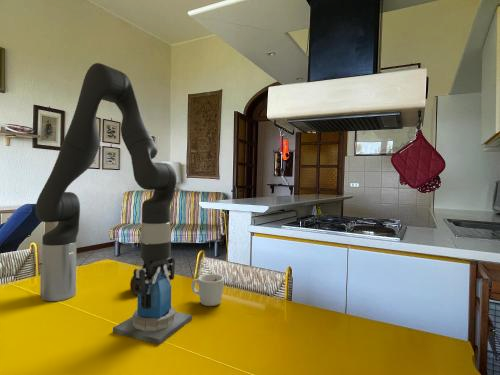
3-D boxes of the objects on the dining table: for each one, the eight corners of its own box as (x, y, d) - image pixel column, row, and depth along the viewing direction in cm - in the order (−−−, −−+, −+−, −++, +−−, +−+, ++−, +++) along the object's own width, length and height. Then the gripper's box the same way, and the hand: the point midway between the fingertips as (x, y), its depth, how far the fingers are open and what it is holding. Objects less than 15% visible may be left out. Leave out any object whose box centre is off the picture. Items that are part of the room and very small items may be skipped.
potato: (123, 295, 101) (123, 276, 101) (136, 286, 110) (137, 268, 110) (143, 297, 100) (144, 277, 100) (155, 287, 109) (155, 269, 109)
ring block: (112, 332, 77) (113, 318, 77) (150, 310, 90) (150, 298, 90) (159, 344, 72) (159, 329, 72) (191, 319, 85) (192, 306, 85)
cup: (184, 304, 95) (185, 278, 95) (198, 295, 103) (198, 271, 102) (215, 310, 91) (216, 283, 91) (227, 300, 99) (228, 275, 98)
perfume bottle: (159, 318, 77) (160, 270, 77) (137, 315, 79) (137, 268, 78) (170, 308, 83) (171, 264, 83) (149, 305, 85) (150, 262, 84)
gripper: (161, 234, 88) (160, 291, 89) (124, 243, 75) (123, 311, 75) (183, 236, 86) (183, 295, 86) (149, 246, 72) (149, 316, 73)
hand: (155, 302), depth 81 cm, fingers open, 7 cm apart
